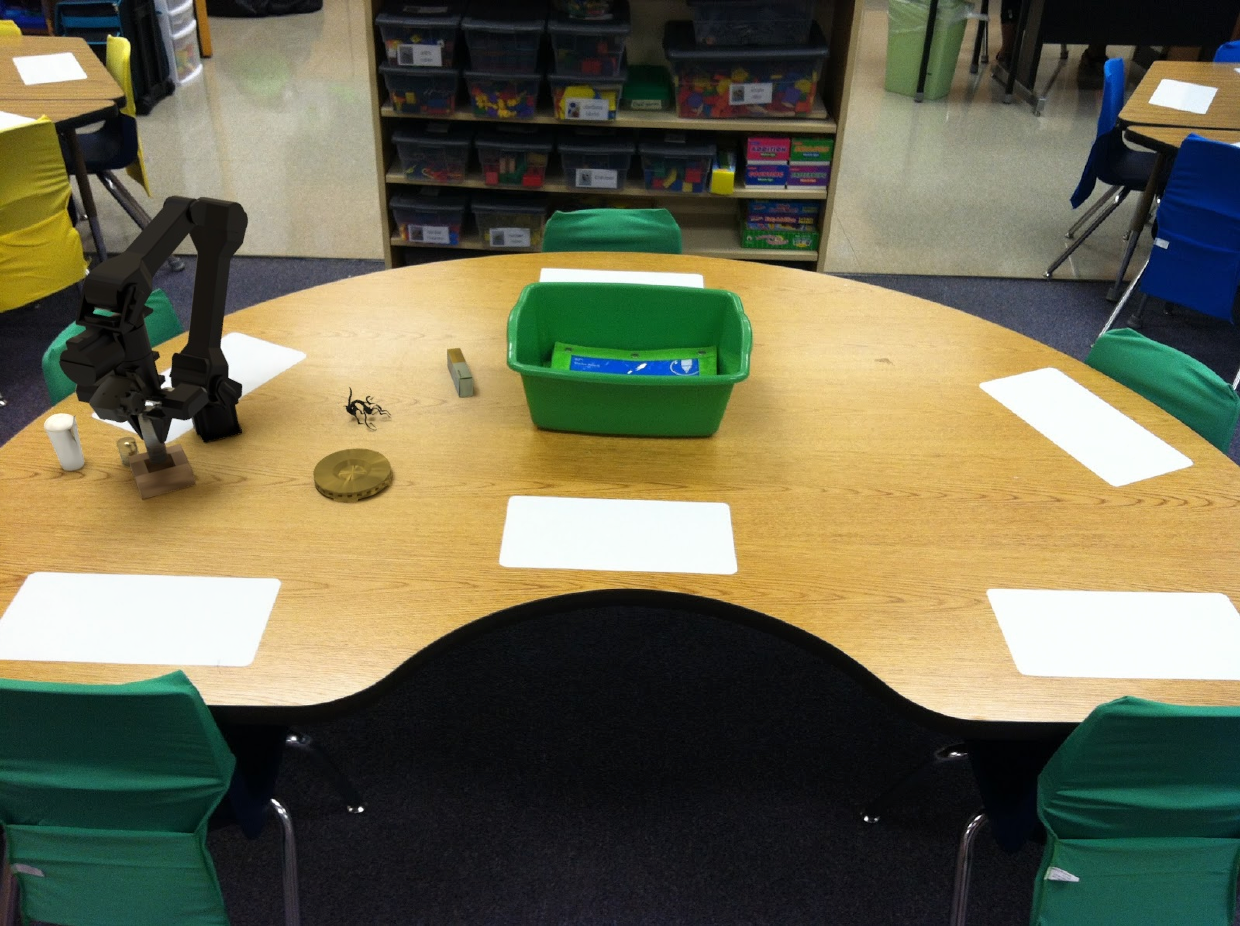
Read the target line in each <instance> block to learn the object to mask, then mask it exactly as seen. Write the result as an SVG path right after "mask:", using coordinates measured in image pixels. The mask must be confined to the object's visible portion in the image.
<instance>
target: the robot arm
mask: <svg viewBox="0 0 1240 926" xmlns="http://www.w3.org/2000/svg"><path fill="white" fill-rule="evenodd" d="M248 224H249V217H248V213H247V212H246V211H245V209H244V207H243V205H242V204H241V203H239V202H238V201H232V200H228V199H220V198H213V197H207V196H200V197H198V198H195V197H194V198H193V197H189V196H183V195H175V194H174V195H172V196H168V197H166V198H165V200H164V201H163V205H162V208H161V209H160V210H159V211H158V213H157V214H156V215H155V216H154V217H153V218H152V219H151V220H150V221H149V223H148V224H147V225H146V226H145V227H144V228H143V230H142V231H141V232H140V233H139V234H138V235H137V236H136V237H135V239H134V240H133V241H132V242H131V243H130V245H128V247H127V248H126V249H125V250H124V251H123V252H122V253H120V254H117V255H116V256H113V257H110V258H107V259H105V260H103V261H101V262H100V263H99V264H98V265H96V266H95V267H94V268H93V269H91V270H90V271H89V272H88V273H87V274H86V276H85V278H84V279H83V285H82V289H81V292H80V293H81V294H80V299H79V303H78V307H77V313H76V318H75V321H74V322H75V323H74V324H75V325H76V326H79V327H84V328H85V330H82V331H81V332H80V333H78V334H77V335H74V336H71V337H70V338H68V339H66V340H65V346H66V347H65V349H64V350H62V352H61V353H60V355H59V361H58V364H59V366H60V369H61V371H62V372H63V374H64V375H65V376H66V377H67V379H69V380H70V381H71V382H72V383H74V384H75V389H74V391H75V394H76V398H77V400H78V402H82V403H85V404H86V403H87V404H89V406H90V407H91V409H92V410H93V411H94V412H95V414H96V415H97V417H98V418H99V419H100V420H104V421H105V420H106V421H112V422H116V423H120V424H123V423H125V422H127V423H128V424H129V425H130V427H131V428H132V429H133V430H134V432H135V433H136V434H137V435H138V437H139V438H140V439H141V440H142V441H144V439H143V436H142V432H141V428H140V425H139V421H138V417H137V415H139V414H140V412H141V410H142V409H143V407H144V406H146V404H147V403H151V404H152V406H153V409H151V410H150V411H149V412H148V413H147V414H146V415H145V416H146V417H149V418H151V419H152V420H153V424H154V427H155V430H156V434H157V437H158V439H159V442H160V443H161V444H163V443H164V442H165V443H166V441H168V435H169V432H170V428H171V424H172V422H173V419H174V420H178V421H189V420H191V422H192V427H193V429H194V431H195V433H196V435H197V436H200V437H199V438H201V441H202V442H203V443H205V444H206V443H210V442H214V441H218V440H221V439H225V438H226V439H227V438H230V437H233V436H237V435H242V433H243V431H244V430H243V428H242V427H241V424H240V423H239V418H238V413H237V408H236V406H237V405H238V404H240V402H239V399H241V398H242V396H243V384H242V383H240V382H238V381H237V380H235V379H232V378H230V377H229V374H230V373H229V371H230V368H229V367H230V366H229V362H228V360H227V359H226V355H225V354H224V352H223V350H222V348H221V346H222V338H223V337H222V336H223V329H224V318H225V312H226V303H227V293H228V285H229V279H230V278H229V277H230V268H231V267H230V266H231V260H232V257H233V256H234V255H235V254H236V253H237V252H238V251H239V249H240V248H241V247H242V245H243V244H244V240H245V237H246V233H247V228H248ZM188 235H189V237H190V239H191V242H192V244H193V246H194V248H195V250H196V253H197V254H196V257H197V258H196V262H195V263H196V264H195V274H194V281H193V282H194V283H193V291H192V300H191V301H192V302H191V311H190V319H189V325H188V326H189V327H188V336H187V337H188V338H187V343H186V344H185V345H184V346H183V348H182V349H181V351H180V352H174V353H173V354H172V356H171V368H170V372H169V375H168V378H170V386H166V387H165V386H164V387H162V385H163V384H165V383H166V382H167V378H166V375H164V374H160V373H159V372H158V368H157V364H156V362H157V361H158V360H159V359H160V358H161V357H160V356H161V355H160V352H159V351H157V350H153V348H152V344H151V340H150V337H149V333H148V328H147V325H146V321H145V319H146V318H147V317H149V316H150V315H152V314H153V313H154V308H153V307H150V306H148V305H146V303H147V302H148V299H149V298H150V296H151V295H152V293H153V278H154V277H155V276H156V273H158V271H159V270H160V269H161V267H162V266H163V265H164V264H165V263H166V262H167V260H168V259H170V256H171V255H172V254H173V253H174V252H175V251H176V250H177V248H178V247H179V246H180V245H181V243H182V242H183V241H184V240H185V239H186V237H187V236H188ZM95 310H99V311H105V312H108V313H113V314H111V315H109V316H108V315H103V314H98V313H94V312H95Z"/></svg>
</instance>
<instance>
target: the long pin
mask: <svg viewBox="0 0 1240 926" xmlns="http://www.w3.org/2000/svg"><path fill="white" fill-rule="evenodd" d="M151 409H153V404H152V405H150V404H148V405H146V404H145V406H144V407H143V409H142V410H141V412H140V414H139V415H137V417H138V421H139V425H140V428H141V432H142V436H143V439H144V440H143V443H144V446H145V449H146V452H147V454H148V458H149V461H150V462H151V463H153V464H160V463H163V462H165V461H167V460H168V453H167V449H166V447H167V446H166V441H165V442H164V443H163V444H161V443H160V442H159V439H158V437H157V434H156V430H155V427H154V424H153V420H152V419H151V418H149V417H146V416H145V415H146V414H147V413H148V412H149V411H150V410H151Z"/></svg>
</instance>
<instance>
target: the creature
mask: <svg viewBox="0 0 1240 926" xmlns="http://www.w3.org/2000/svg"><path fill="white" fill-rule="evenodd" d="M348 388H349V396H348V402H347V405H343V407H344V408H345V410H346V412H347V413H348V414H350V415H351V416H352V417H354V418H356V420H357V423H358V425H366V427H367V428H368V429H370V430H371V431H377V429H376V426H375V425H374V424H373V423H372V422H369V423H368V422H367V417H368V416H370V415H372V416H374V415H375V414H376V413H379V415H380V416H382V415H387V417H388V418H391V416H392V414H391V413H390V412H389V411H388V410H386V409H383V410H382V407H381V405H379V404H377V403H375V402H372V401H373V399H374V396H372V397H371V395H367V396H366V397H365V400H360V399H354V400H353V401H351V400H352V397H353V391H352V388H351V386H349V387H348ZM370 397H371V398H370ZM369 398H370V399H369ZM370 400H371V401H370ZM356 404H360V405H361V406H362V407H363V408H362V410H361V409H360V408H358V406H357V405H356ZM366 404H368V405H366ZM371 405H373V406H372V407H371ZM377 407H378V408H377ZM374 410H377V411H375V412H374V413H373V411H374ZM357 411H359V412H360V413H359V414H360V415H364V422H360V419H359V418H358V417H357V416H358V415H357ZM386 412H387V413H386ZM369 424H371V425H372V426H373V427H374V428H375V429H374V428H371V426H369Z"/></svg>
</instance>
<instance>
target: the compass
mask: <svg viewBox="0 0 1240 926" xmlns="http://www.w3.org/2000/svg"><path fill="white" fill-rule="evenodd" d="M312 472H313V476H312V477H313V481H314V486H315V487H316V489H317V490H318V492H319V493H321V494H322V495H324V496H326V497H328V498H331V499H333V501H334V502H337V503H339V502H340V503H356V502H359V500H360V499H364V498H367V497H371V496H373V495H375V494H377V493H379V492H381V491H382V490H384V489H385V488H386V487H389V485H390V484H391V482H392V478H393V477H392V475H393V474H392V467H391V463H390V461H389V459H388V457H386V456H385V455H384V454H382V453H381V452H379V451H376V450H373V449H367V448H346V449H342V450H338V451H335V452H333V453H330V454H328V455H326V456H325V457H323V458H321V459H320V460H319V461H318V462H317V464H316V465H315V467H314V469H313V471H312Z"/></svg>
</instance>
